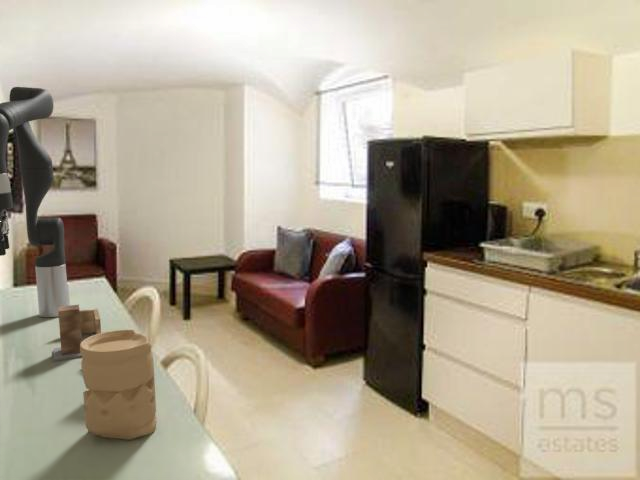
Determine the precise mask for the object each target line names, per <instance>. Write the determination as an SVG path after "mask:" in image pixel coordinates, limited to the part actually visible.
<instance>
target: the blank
mask: <svg viewBox="0 0 640 480" xmlns="http://www.w3.org/2000/svg"><path fill="white" fill-rule="evenodd" d="M79 310H80V304H70V306H62V307H59V308H58V314H59V316H58V323H59V324H58V325H59V326H58V327H59V337H60V347H61V353H62V355H68V354H75V353H80V343H81V342H82V341H83V340H82V334H81V325H80V311H79Z"/></svg>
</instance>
